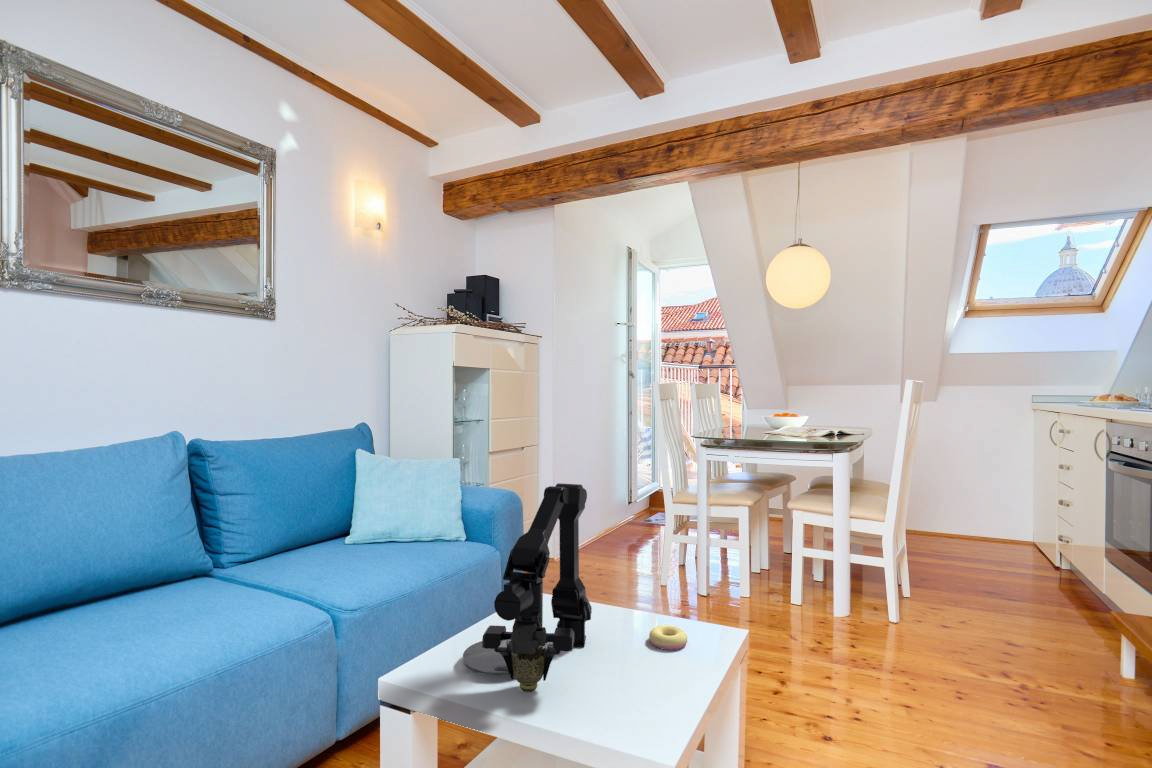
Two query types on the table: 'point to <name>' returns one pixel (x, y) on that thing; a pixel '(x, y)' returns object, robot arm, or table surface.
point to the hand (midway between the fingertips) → (528, 679)
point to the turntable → (484, 660)
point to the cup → (528, 668)
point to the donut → (668, 637)
